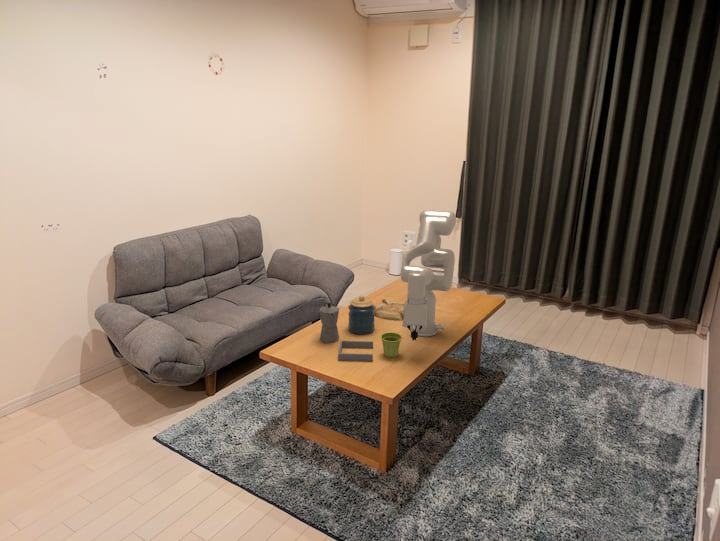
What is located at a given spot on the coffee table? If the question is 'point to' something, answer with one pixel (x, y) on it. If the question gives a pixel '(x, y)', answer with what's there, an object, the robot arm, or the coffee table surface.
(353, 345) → the bay
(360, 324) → the canister
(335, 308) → the coffeepot
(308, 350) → the coffee table surface
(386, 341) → the plant pot
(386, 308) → the ashtray
